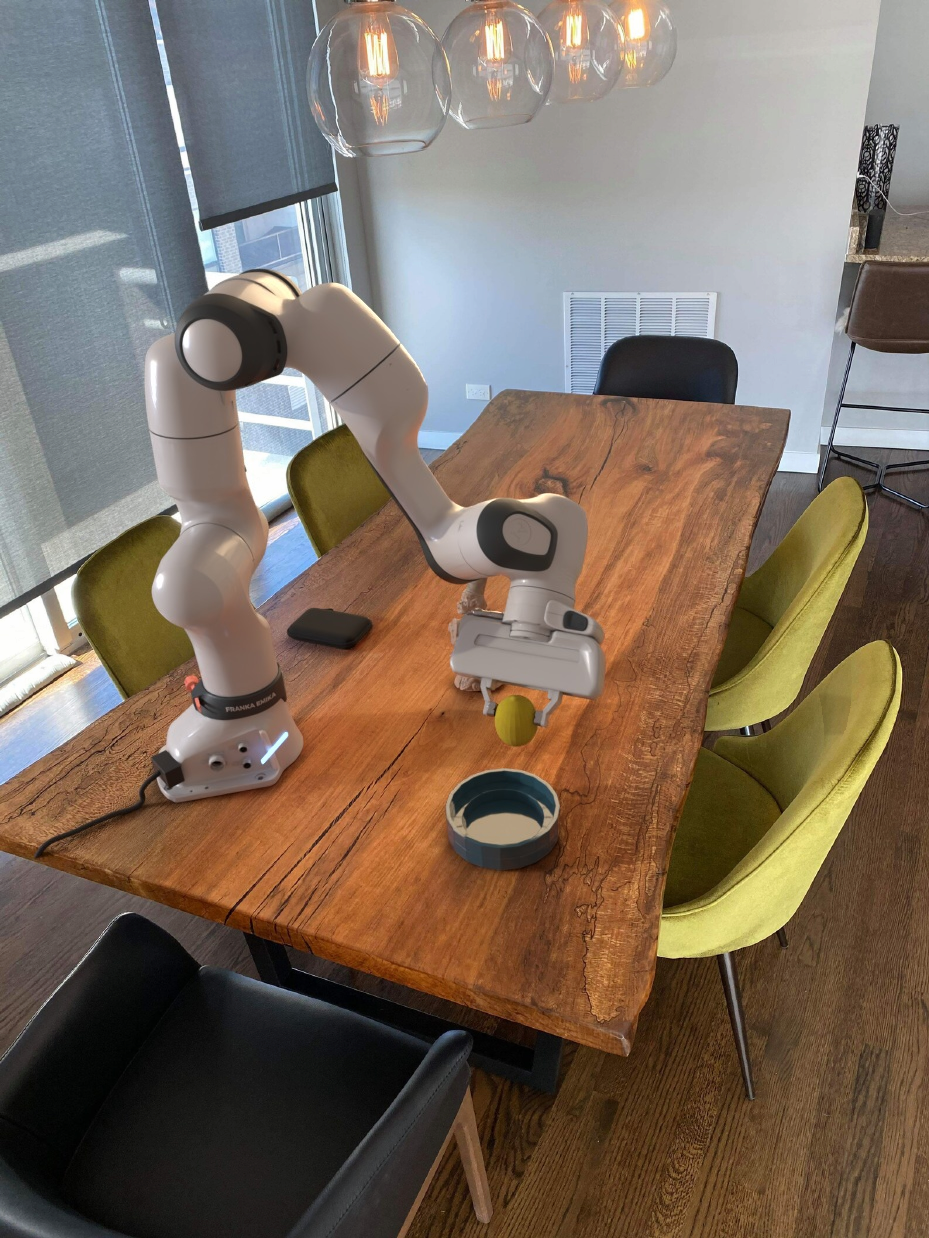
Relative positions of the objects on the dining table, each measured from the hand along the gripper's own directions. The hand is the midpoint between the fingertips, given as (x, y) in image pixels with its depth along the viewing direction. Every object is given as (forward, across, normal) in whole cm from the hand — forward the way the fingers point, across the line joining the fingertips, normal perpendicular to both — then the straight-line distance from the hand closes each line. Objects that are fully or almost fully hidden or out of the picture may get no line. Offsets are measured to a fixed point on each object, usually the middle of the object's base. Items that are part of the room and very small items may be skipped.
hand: (514, 721), depth 117 cm
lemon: (+3, 0, +4) cm, 5 cm away
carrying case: (-13, -50, +38) cm, 64 cm away
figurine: (-8, -18, +33) cm, 39 cm away
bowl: (+14, -1, +11) cm, 18 cm away
